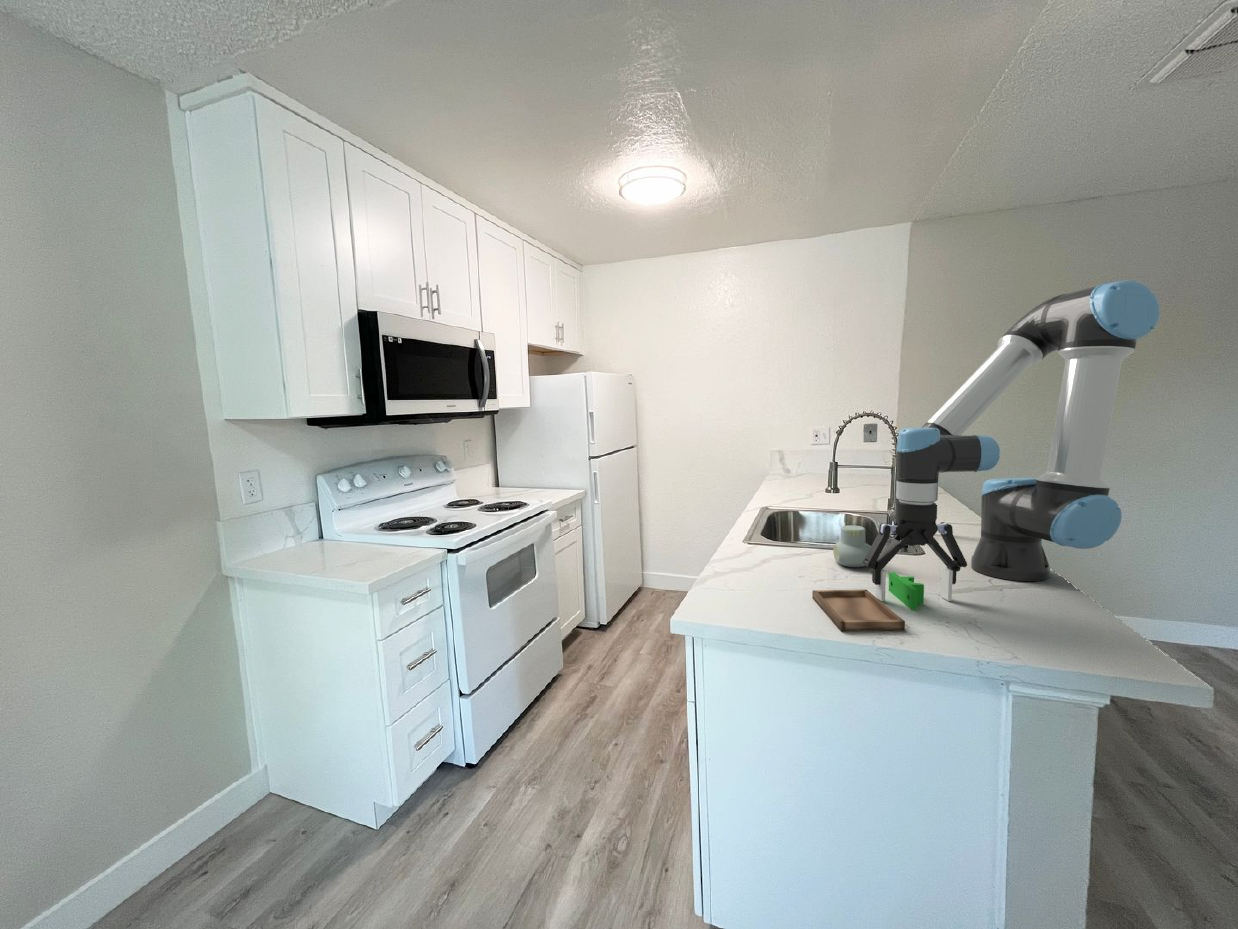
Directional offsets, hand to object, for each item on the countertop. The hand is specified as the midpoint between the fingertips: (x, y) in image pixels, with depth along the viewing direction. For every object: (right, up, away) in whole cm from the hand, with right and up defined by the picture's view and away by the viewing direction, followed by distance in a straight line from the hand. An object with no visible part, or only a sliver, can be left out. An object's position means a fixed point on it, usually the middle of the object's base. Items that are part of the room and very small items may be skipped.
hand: (913, 598), depth 106 cm
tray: (-15, -1, -5) cm, 16 cm away
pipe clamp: (-1, -1, 0) cm, 1 cm away
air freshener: (-1, +2, +25) cm, 25 cm away
